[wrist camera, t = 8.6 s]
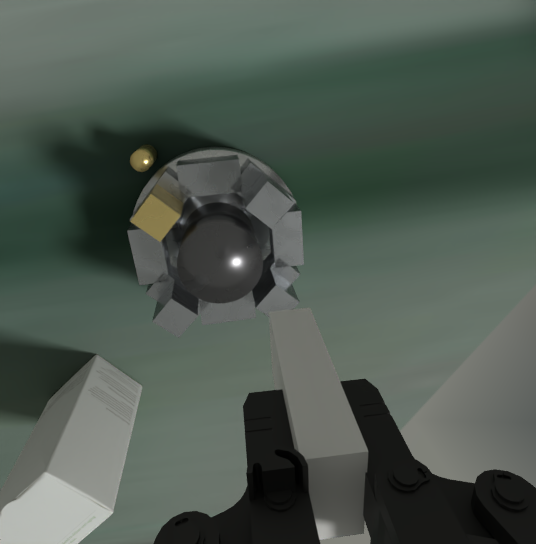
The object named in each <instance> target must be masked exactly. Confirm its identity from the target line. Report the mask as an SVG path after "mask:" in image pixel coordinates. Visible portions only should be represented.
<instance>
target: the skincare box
mask: <svg viewBox="0 0 536 544" xmlns="http://www.w3.org/2000/svg"><path fill="white" fill-rule="evenodd" d="M141 391H142V385H140V384H139V383H137V382H136V381H135V380H133V379H132V378H130V377H129V376H127V375H126V374H124V373H123V372H122V371H120V370H119V369H117V368H116V367H114V366H113V365H112V364H110V363H109V362H107V361H106V360H104V359H103V358H102V357H100V356H99V355H95V356H94V357H93V358H92V359H91V360H90V361H89V362H87V363H86V364H85V365H84V366H83V367H82V368H81V369H80V370H79V371H78V372H77V373H76V374H75V375H74V376H73V377H72V378H71V379H70V380H69V381H68V382H67V383H66V384H64V385H63V386H62V387H61V388H60V389H59V390H58V391H57V392H56V393H55V394H54V395H53V396H52V397H51V398H50V399H49V400H48V403H47V405H46V407H45V409H44V411H43V412H42V414H41V416H40V418H39V420H38V422H37V424H36V426H35V427H34V429H33V431H32V433H31V435H30V437H29V439H28V441H27V442H26V444H25V446H24V448H23V450H22V452H21V454H20V455H19V457H18V459H17V461H16V463H15V465H14V467H13V469H12V470H11V472H10V474H9V476H8V478H7V480H6V482H5V483H4V485H3V487H2V489H1V491H0V544H78V543H79V542H80V541H81V540H82V539H83V538H85V537H86V536H87V535H88V534H89V533H91V532H92V531H93V530H94V529H95V528H96V527H97V526H99V525H100V524H101V523H102V522H103V521H104V520H106V519H107V518H108V517H109V516H110V515H111V514H112V513H113V509H114V505H115V501H116V497H117V492H118V488H119V484H120V480H121V475H122V471H123V467H124V463H125V458H126V454H127V450H128V446H129V441H130V437H131V433H132V429H133V425H134V420H135V416H136V412H137V408H138V403H139V399H140V395H141Z"/></svg>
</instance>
